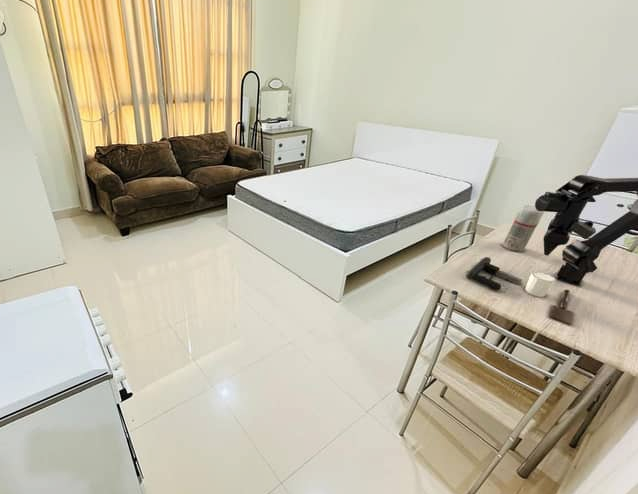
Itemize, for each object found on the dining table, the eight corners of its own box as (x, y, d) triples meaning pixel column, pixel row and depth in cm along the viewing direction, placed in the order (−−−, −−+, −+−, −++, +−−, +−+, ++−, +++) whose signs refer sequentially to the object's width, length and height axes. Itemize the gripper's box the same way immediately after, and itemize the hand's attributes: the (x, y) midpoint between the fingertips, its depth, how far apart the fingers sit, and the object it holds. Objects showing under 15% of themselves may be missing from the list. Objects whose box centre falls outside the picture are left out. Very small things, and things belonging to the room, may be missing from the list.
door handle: (528, 272, 124) (481, 254, 134) (512, 292, 113) (463, 270, 123) (523, 279, 126) (478, 260, 136) (507, 299, 115) (460, 277, 125)
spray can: (528, 253, 142) (550, 211, 132) (507, 251, 143) (528, 210, 133) (518, 244, 149) (538, 204, 139) (498, 242, 151) (517, 202, 141)
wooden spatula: (574, 295, 115) (577, 292, 115) (569, 324, 102) (572, 321, 101) (556, 289, 118) (558, 286, 118) (549, 317, 105) (552, 313, 104)
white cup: (532, 297, 114) (541, 281, 111) (518, 286, 120) (526, 270, 117) (552, 298, 114) (562, 282, 111) (537, 286, 120) (546, 271, 116)
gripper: (600, 227, 101) (574, 268, 109) (601, 211, 112) (578, 250, 120) (554, 217, 108) (533, 256, 116) (560, 203, 119) (540, 240, 127)
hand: (547, 250), depth 120 cm, fingers open, 9 cm apart
